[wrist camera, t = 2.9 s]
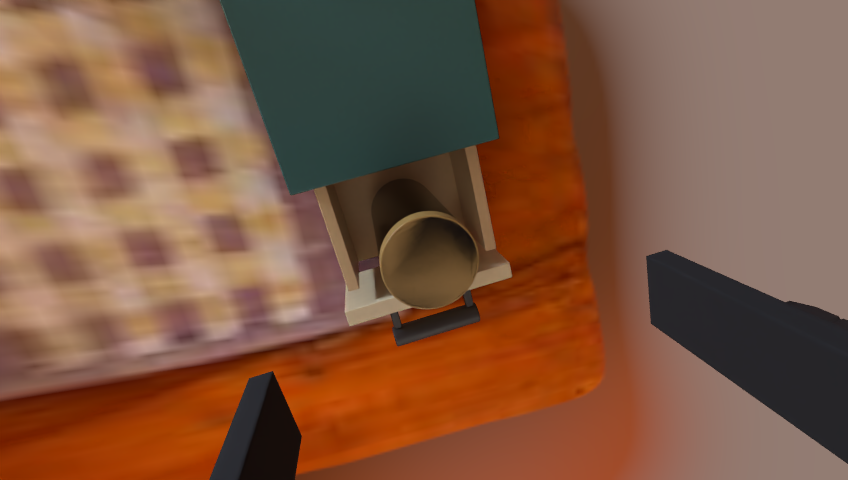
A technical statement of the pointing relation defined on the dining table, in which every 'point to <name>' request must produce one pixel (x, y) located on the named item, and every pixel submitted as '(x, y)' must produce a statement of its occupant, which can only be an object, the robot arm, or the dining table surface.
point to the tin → (421, 246)
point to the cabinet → (363, 82)
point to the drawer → (355, 241)
